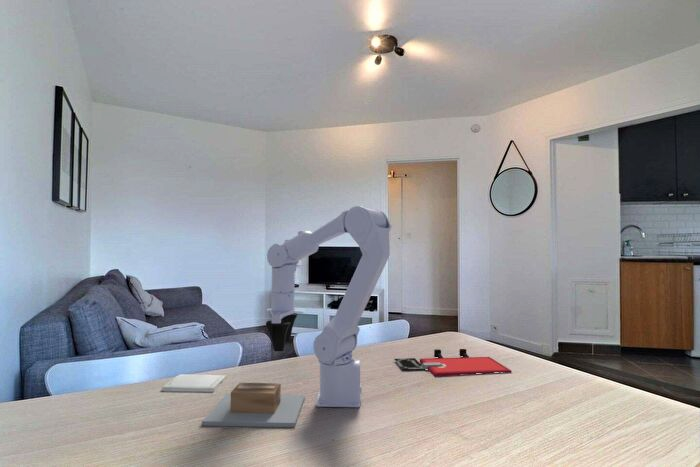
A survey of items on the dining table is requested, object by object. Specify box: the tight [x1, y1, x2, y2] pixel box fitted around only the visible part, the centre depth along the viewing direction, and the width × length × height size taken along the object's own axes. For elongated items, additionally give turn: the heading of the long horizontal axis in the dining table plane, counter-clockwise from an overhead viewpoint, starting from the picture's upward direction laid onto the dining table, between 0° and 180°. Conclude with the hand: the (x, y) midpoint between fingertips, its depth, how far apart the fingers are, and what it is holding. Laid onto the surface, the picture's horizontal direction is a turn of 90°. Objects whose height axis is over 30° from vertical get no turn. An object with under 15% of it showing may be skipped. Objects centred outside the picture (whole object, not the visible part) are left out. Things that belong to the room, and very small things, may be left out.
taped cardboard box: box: [230, 382, 282, 414], centre depth 71 cm, size 5×9×4 cm, turn 88°
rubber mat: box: [201, 393, 306, 428], centre depth 71 cm, size 18×12×1 cm, turn 89°
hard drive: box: [161, 373, 228, 393], centre depth 84 cm, size 2×8×12 cm
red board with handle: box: [394, 348, 512, 377], centre depth 99 cm, size 30×3×15 cm
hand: (282, 346), depth 85 cm, fingers open, 7 cm apart
